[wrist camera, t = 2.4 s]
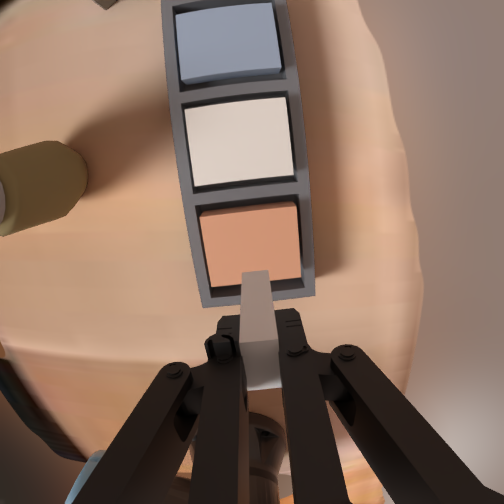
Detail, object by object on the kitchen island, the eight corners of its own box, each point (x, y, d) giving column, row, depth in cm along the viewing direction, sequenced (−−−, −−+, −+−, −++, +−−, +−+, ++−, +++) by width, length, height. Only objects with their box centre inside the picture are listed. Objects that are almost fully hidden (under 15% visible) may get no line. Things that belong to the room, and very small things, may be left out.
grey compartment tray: (308, 280, 33) (315, 295, 29) (206, 291, 33) (202, 308, 29) (279, -1, 22) (283, -16, 19) (169, 13, 23) (160, 0, 19)
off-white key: (289, 172, 26) (293, 174, 24) (199, 182, 26) (194, 186, 24) (281, 101, 24) (285, 97, 22) (189, 112, 24) (184, 109, 22)
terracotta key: (296, 266, 29) (300, 277, 27) (214, 275, 30) (211, 287, 27) (292, 200, 27) (296, 206, 25) (203, 211, 27) (199, 217, 25)
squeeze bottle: (38, 146, 27) (-87, 169, 10) (95, 132, 27) (-38, 140, 10) (45, 214, 29) (-68, 276, 12) (101, 208, 29) (-15, 278, 12)
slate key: (278, 73, 23) (281, 67, 21) (186, 85, 23) (181, 79, 21) (269, 13, 21) (271, 2, 19) (181, 24, 21) (175, 15, 19)
